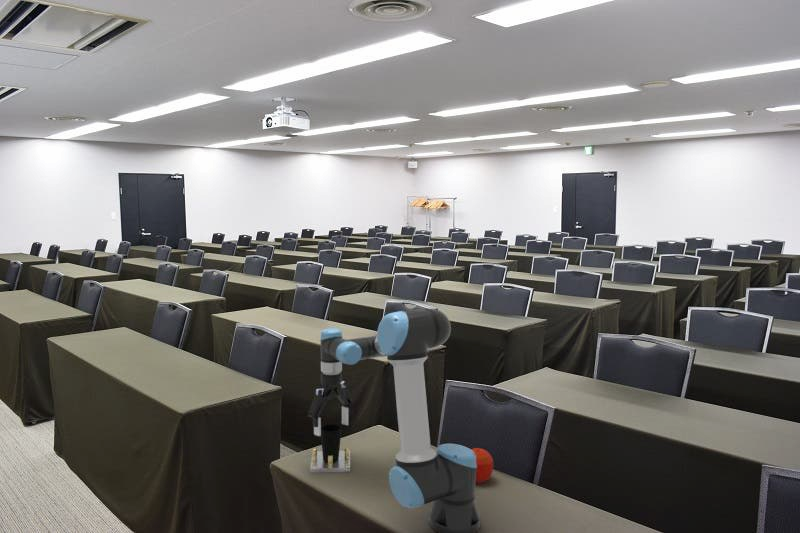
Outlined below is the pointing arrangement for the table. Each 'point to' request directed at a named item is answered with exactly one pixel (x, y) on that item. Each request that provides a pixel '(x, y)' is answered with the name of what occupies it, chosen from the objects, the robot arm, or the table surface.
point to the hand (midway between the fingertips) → (331, 429)
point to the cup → (330, 441)
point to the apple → (483, 465)
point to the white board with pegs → (330, 462)
